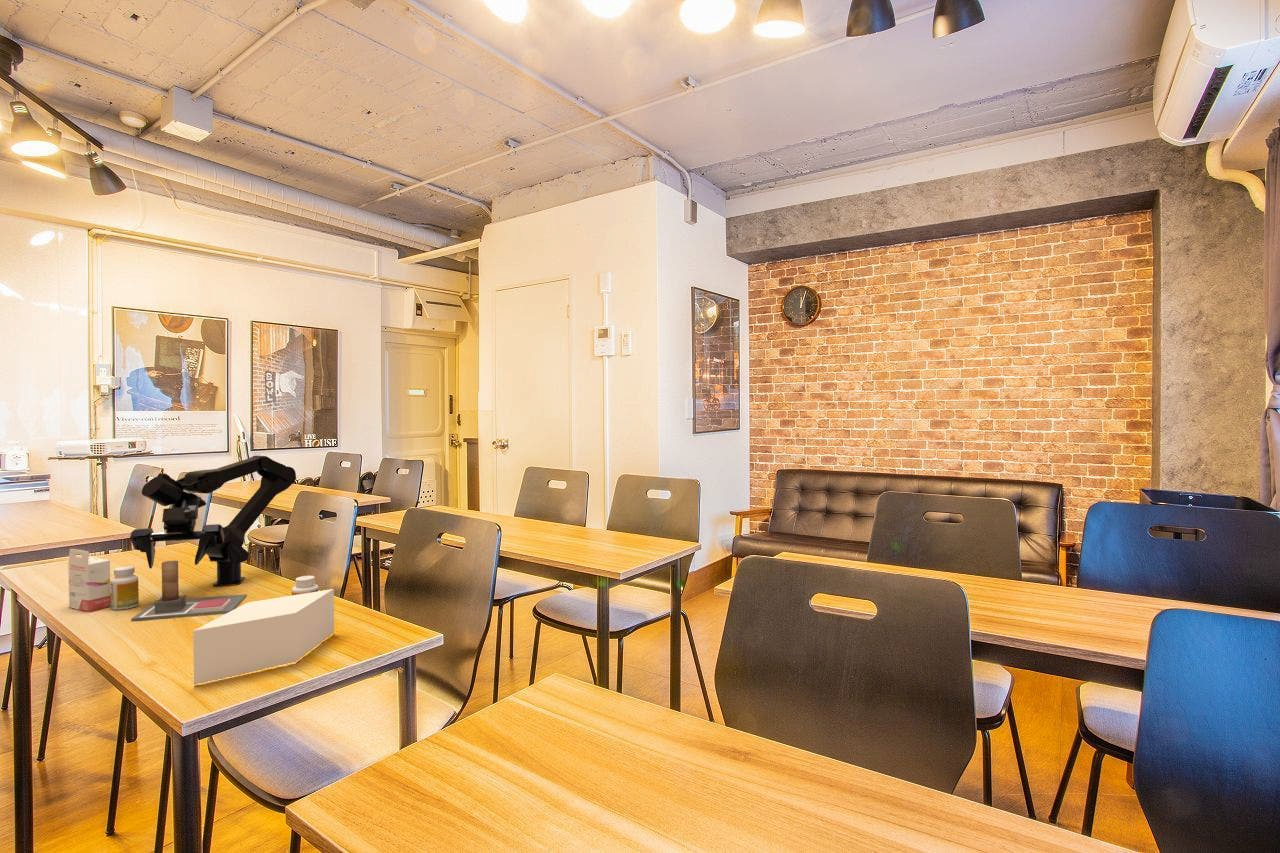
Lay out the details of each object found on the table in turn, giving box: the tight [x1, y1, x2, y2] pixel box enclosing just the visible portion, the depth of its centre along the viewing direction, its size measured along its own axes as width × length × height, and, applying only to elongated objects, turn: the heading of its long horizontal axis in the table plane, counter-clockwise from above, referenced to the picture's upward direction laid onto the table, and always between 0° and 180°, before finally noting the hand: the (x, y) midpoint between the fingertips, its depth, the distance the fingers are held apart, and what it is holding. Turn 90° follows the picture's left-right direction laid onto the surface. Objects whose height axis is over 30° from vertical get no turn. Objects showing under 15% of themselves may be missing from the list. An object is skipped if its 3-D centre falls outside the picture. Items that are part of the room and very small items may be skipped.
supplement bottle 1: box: [110, 565, 140, 611], centre depth 157 cm, size 5×5×10 cm
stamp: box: [155, 560, 187, 614], centre depth 153 cm, size 5×5×12 cm
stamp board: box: [130, 593, 247, 622], centre depth 156 cm, size 14×20×2 cm
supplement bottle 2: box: [291, 575, 320, 596], centre depth 147 cm, size 6×6×10 cm
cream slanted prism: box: [192, 588, 335, 686], centre depth 126 cm, size 14×29×10 cm, turn 155°
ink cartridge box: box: [68, 548, 111, 613], centre depth 156 cm, size 9×5×15 cm, turn 68°
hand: (173, 565), depth 155 cm, fingers open, 9 cm apart
